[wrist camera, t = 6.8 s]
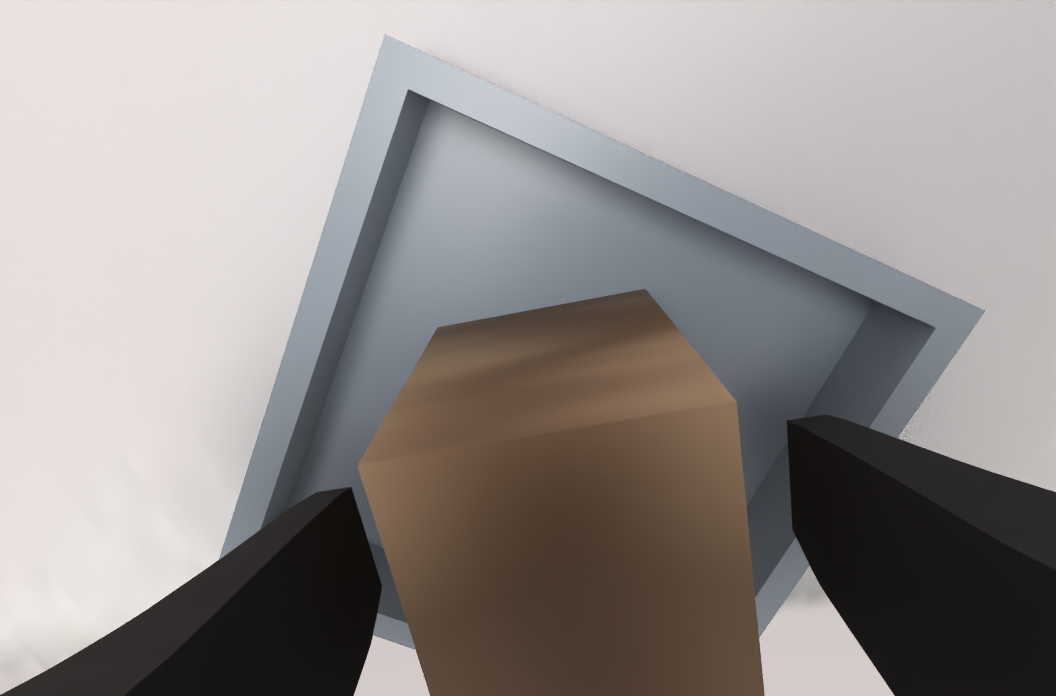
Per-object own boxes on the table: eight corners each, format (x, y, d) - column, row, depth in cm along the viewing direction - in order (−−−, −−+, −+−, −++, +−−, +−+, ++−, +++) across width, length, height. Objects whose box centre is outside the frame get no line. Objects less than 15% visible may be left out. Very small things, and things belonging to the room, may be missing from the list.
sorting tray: (902, 282, 13) (985, 310, 10) (664, 656, 16) (686, 742, 14) (415, 58, 12) (385, 34, 9) (264, 512, 15) (212, 579, 13)
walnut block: (645, 288, 12) (736, 401, 7) (671, 475, 14) (764, 699, 8) (437, 327, 13) (357, 464, 7) (482, 505, 14) (445, 742, 8)
